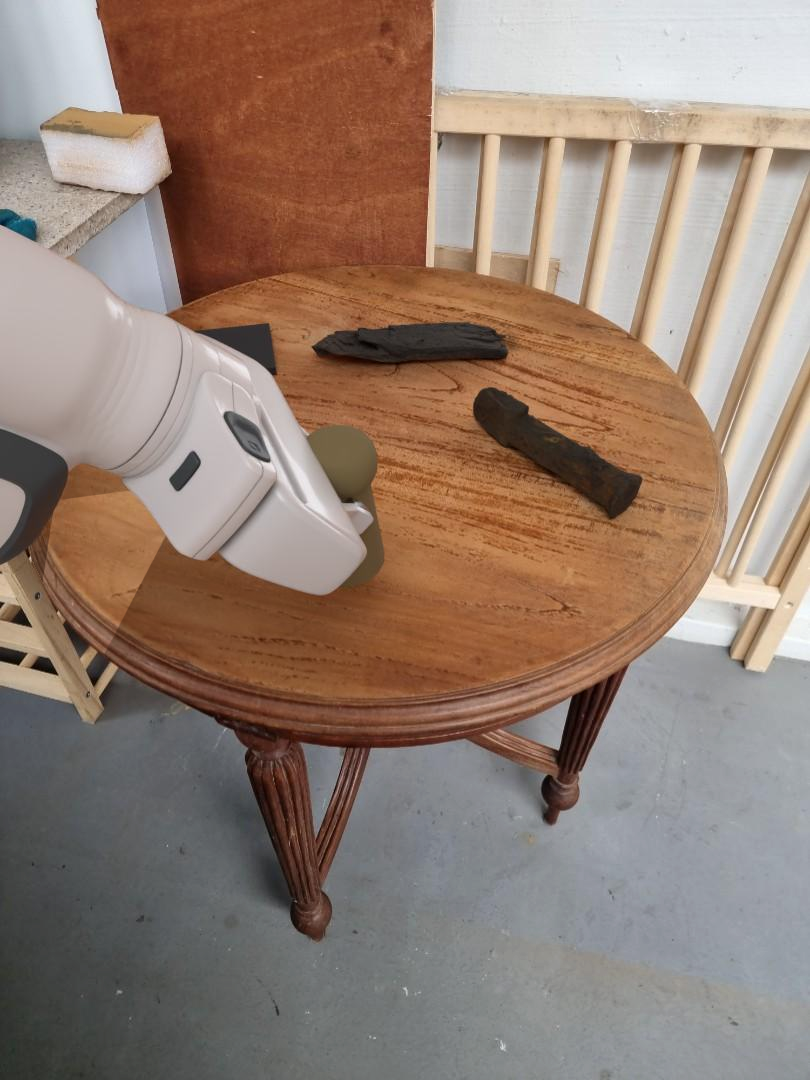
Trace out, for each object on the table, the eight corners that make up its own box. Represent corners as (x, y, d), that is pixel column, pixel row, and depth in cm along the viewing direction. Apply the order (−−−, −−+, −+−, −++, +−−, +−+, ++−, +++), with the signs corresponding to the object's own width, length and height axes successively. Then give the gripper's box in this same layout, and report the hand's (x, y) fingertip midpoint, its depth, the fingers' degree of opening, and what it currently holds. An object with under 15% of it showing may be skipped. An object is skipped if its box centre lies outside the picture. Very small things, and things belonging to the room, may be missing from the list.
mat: (177, 386, 83) (175, 378, 82) (177, 340, 89) (175, 332, 88) (277, 374, 84) (275, 367, 83) (270, 330, 90) (269, 322, 89)
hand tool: (639, 505, 70) (651, 466, 67) (610, 525, 69) (621, 487, 65) (492, 407, 80) (496, 369, 77) (464, 423, 79) (467, 385, 75)
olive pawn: (293, 581, 56) (277, 465, 48) (313, 522, 60) (302, 406, 52) (376, 593, 55) (374, 477, 47) (391, 532, 59) (391, 416, 51)
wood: (500, 325, 91) (503, 301, 89) (512, 361, 86) (515, 337, 84) (311, 335, 90) (309, 311, 87) (312, 372, 85) (310, 348, 82)
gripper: (116, 358, 51) (276, 438, 61) (187, 578, 38) (374, 634, 48) (170, 282, 49) (326, 378, 59) (264, 488, 36) (443, 565, 46)
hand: (349, 495), depth 53 cm, fingers closed on olive pawn, 4 cm apart
